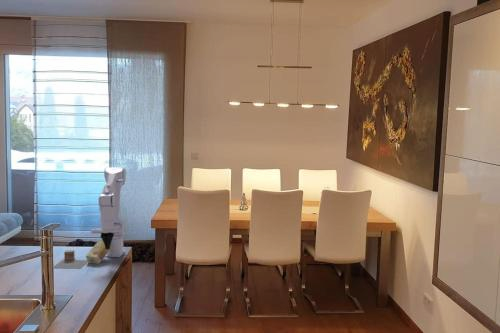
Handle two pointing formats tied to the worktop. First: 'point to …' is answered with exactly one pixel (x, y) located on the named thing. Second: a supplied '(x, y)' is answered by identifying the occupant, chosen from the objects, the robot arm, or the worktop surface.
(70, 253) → the walnut cube
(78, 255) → the worktop surface
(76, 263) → the felt mat
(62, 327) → the worktop surface
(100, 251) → the skincare box
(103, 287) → the worktop surface
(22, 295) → the worktop surface
